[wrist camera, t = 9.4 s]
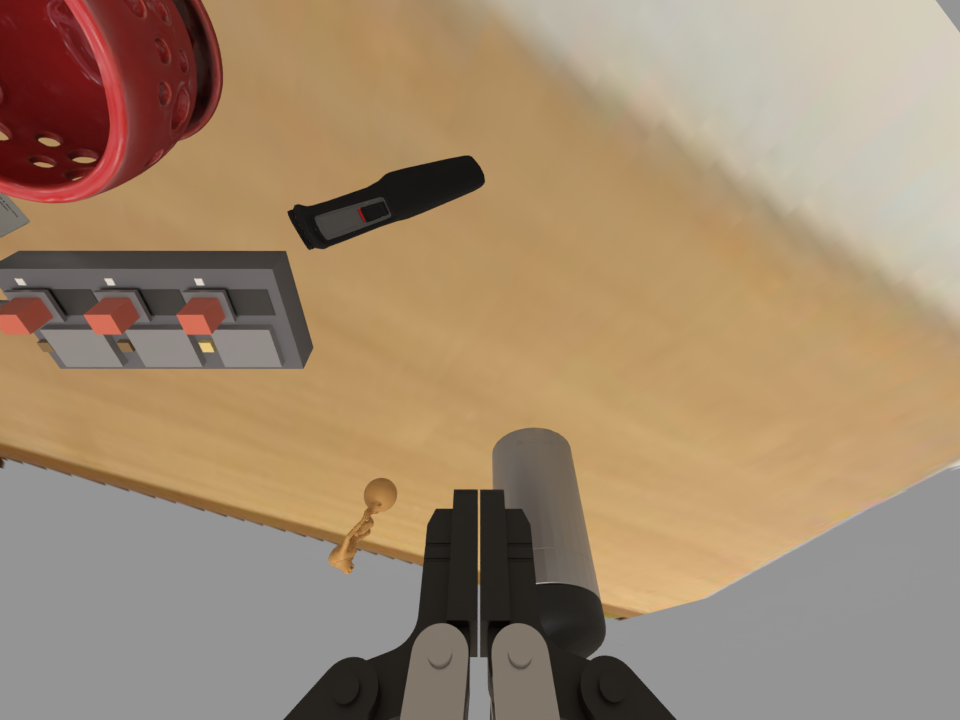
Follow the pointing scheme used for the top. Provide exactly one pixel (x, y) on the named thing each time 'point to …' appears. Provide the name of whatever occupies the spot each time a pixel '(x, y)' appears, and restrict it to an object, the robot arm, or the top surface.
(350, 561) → the figurine
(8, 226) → the ink box
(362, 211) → the electric trimmer
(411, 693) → the robot arm
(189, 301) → the switch
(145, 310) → the switch
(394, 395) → the top surface
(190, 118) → the plant pot
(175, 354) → the switch panel
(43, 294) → the switch
